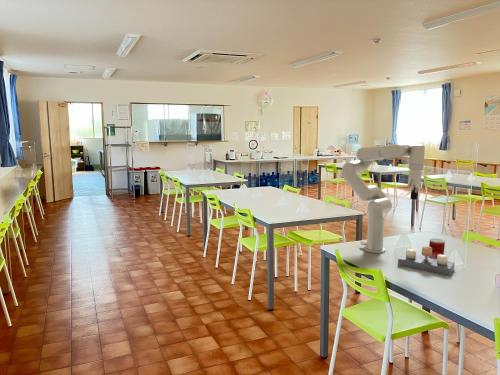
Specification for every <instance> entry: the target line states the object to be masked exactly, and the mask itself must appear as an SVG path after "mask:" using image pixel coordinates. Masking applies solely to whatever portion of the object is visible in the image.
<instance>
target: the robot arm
mask: <svg viewBox="0 0 500 375" xmlns="http://www.w3.org/2000/svg"><path fill="white" fill-rule="evenodd" d="M425 149H426V146H425V145H424V144H412V143H396V144H386V145H383V144H381V145H372V146H362V147H360V148H358V149H357V151H356V155H355V156H356V157H357V160H350V161H347V162H345V163H344V164H343V165H342V168H341V176H342V178H343V180H344V181H345V182H346V184H348V186H349V187H350V188H351V189H352V191H353V192H354V193H355V194H356V195H357V197H358V198H359V199H360V201H362V202H364V203H365V202H368V204H367V207H366V208H367V210H366V211H367V236H366V241H364V240H363V241H362V240H361V241H360V245H361V246H364V247H363V250H364V251H365V252H368V253H374V254H383V253H385V252H386V248H385V247H384V235H385V233H384V232H385V217H384V214H387V213H390V211H391V210H392V208H393V203H392V201H391V200H390V199H389V197H388V196H387V195H386V193H385V192H383V191H382V189H381V188H380V187H379V186H377V185H374V184H370V185H368V184H367V183H366V182H365V181H364V180H363V178H361V177H360V176H359V175H358V174H362V173H364V172H366V171H367V169H369V167H370V166H371V165H372V164H373V162H374V161H381V160H386V159H396V158H406V157H408V158H409V162H408V170H409V173H408V179H407V187H408V188H410V200H413V201H414V200H415V201H416V200H418V195H419V193H418V192H419V187H421V184H422V171H423V170H424V166H425V165H424V164H425Z"/></svg>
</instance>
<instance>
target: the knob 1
mask: <svg viewBox="0 0 500 375" xmlns="http://www.w3.org/2000/svg"><path fill="white" fill-rule="evenodd" d="M405 253H406V257H407V258H410V259H415V258H416V255H417V250H416V249H413V248H407V249H406V252H405Z"/></svg>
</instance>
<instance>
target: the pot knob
mask: <svg viewBox="0 0 500 375" xmlns="http://www.w3.org/2000/svg"><path fill="white" fill-rule="evenodd" d="M421 256H422V257H425V261H427V260H428V258H429V256H432V248H431V247H429V246H427V245H426V246H422V247H421Z"/></svg>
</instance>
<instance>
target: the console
mask: <svg viewBox="0 0 500 375" xmlns="http://www.w3.org/2000/svg"><path fill="white" fill-rule="evenodd" d="M397 266H399V267H403V268H408V269H412V270H419V271H423V272H427V273H431V274H436V275H441V276H445V277H447V276H448V277H450V276H451V274H452V273H453V272H454V270H455V262H454V261H447V265H441V264H438V263H437V259H433V258H429V257H428V260H427V261H425V256H423V255H417V254H416V258H415V259H410V258H407V257H406V252H404V253H403V254H402V255H401V256H400V257H398V259H397Z"/></svg>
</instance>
